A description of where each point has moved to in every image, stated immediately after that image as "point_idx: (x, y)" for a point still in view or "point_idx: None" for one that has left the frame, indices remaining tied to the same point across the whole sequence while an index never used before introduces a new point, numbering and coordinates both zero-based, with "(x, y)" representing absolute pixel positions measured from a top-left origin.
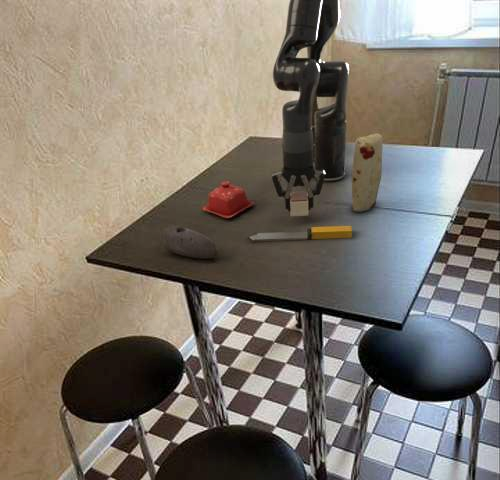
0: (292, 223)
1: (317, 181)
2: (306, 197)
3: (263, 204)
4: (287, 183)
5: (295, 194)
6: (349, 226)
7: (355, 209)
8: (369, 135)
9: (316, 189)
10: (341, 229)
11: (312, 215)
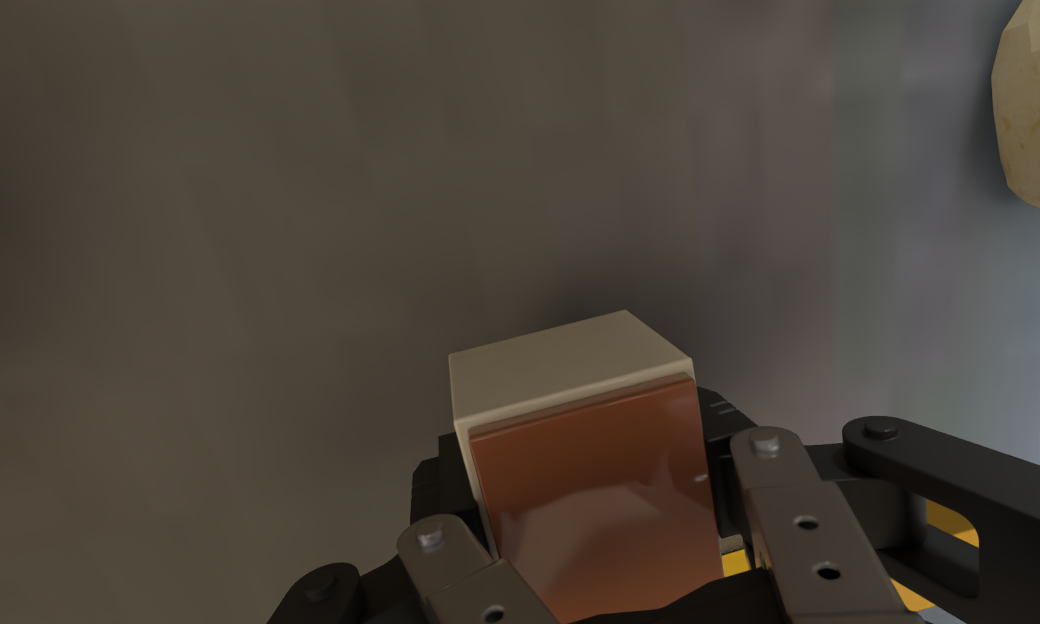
0: None
1: (994, 513)
2: (714, 569)
3: (39, 91)
4: (433, 608)
5: (554, 515)
6: (971, 539)
7: (1030, 203)
8: None
9: (908, 583)
10: (914, 592)
11: (636, 276)
